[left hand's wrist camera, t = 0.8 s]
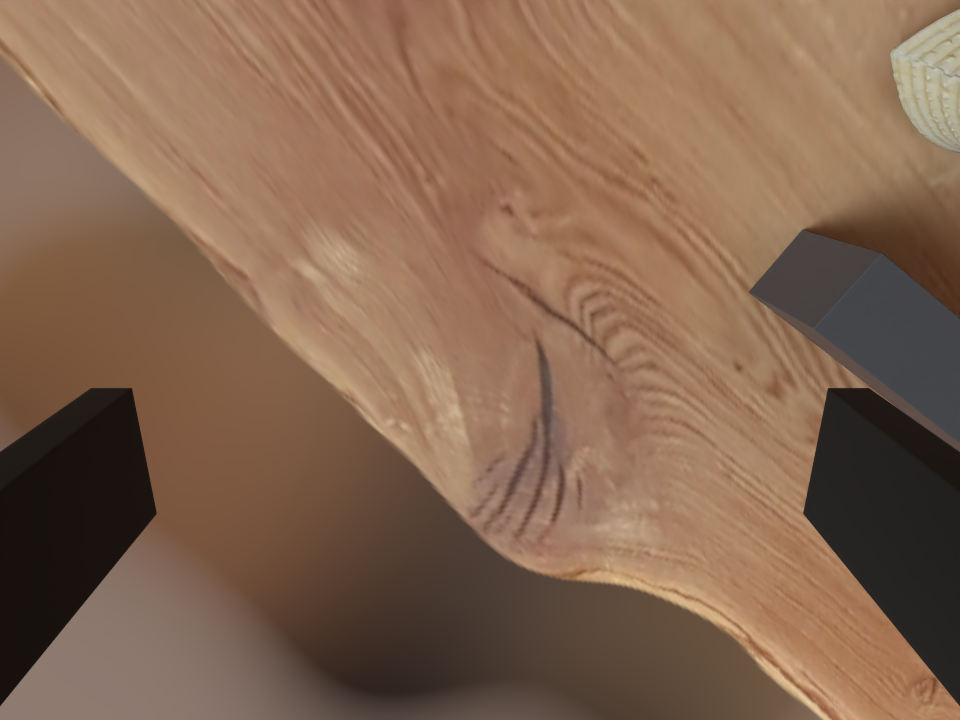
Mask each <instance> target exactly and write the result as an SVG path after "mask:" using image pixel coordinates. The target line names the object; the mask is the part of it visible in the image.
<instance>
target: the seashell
mask: <svg viewBox="0 0 960 720" xmlns="http://www.w3.org/2000/svg"><path fill="white" fill-rule="evenodd" d="M890 55H891V62H892V67H893V71H894V79H895V81H896V83H897V89H898V91H899V98H900V101H901V103H902V106H903V109H904V110H905V112H906V114H907V116H908V117H909V118H910V120H911V122H912V123H913V125H914V126H915V127H916V128H917V130H918V131H919V132H920V133H921V134H922V135H923V136H924V137H926V138H927V139H928V140H930V141H932V142H933V143H935V144H936V145H938V146H941V147H943V148H945V149H947V150H950V151H954V152H959V153H960V9H958V10H956V11H954V12H952V13H951V14H949V15H946V16H944V17H942V18H941V19H939V20H937V21H936V22H934V23H932V24H930V25H928V26H927V27H925V28H924V29H922V30H920V31H919V32H917V33H916V34H915V35H913V36H912V37H910V38H909V39H907V40H906V41H904V42H902V43H901V44H899V45H898V46H896V47H895V48H894V49H893V50H892V52H891V54H890Z"/></svg>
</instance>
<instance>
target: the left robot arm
mask: <svg viewBox="0 0 960 720" xmlns="http://www.w3.org/2000/svg"><path fill="white" fill-rule="evenodd" d="M803 514H804V515H805V516H806V518H807V519H808V520H809V521H810V522H811V524H812V525H813V526H814V527H815V529H816V530H817V531H818V532H819V534H820V535H821V536H822V537H823V538H824V540H825V541H826V542H827V543H828V545H829V546H830V547H831V548H832V549H833V551H834V552H835V553H836V554H837V556H838V557H839V558H840V559H841V561H842V562H843V563H844V564H845V565H846V567H847V568H848V569H849V570H850V572H851V573H852V574H853V575H854V577H855V578H856V579H857V580H858V581H859V583H860V584H861V585H862V586H863V588H864V589H865V590H866V591H867V593H868V594H869V595H870V596H871V597H872V599H873V600H874V601H875V602H876V604H877V605H878V606H879V607H880V609H881V610H882V611H883V612H884V613H885V615H886V616H887V617H888V618H889V620H890V621H891V622H892V623H893V624H894V626H895V627H896V628H897V629H898V631H899V632H900V633H901V634H902V636H903V637H904V638H905V639H906V640H907V642H908V643H909V644H910V645H911V647H912V648H913V649H914V650H915V652H916V653H917V654H918V655H919V656H920V658H921V659H922V660H923V661H924V663H925V664H926V665H927V666H928V668H929V669H930V670H931V671H932V672H933V674H934V675H935V676H936V677H937V679H938V680H939V681H940V682H941V683H942V685H943V686H944V687H945V688H946V690H947V691H948V692H949V693H950V695H951V696H952V697H953V698H954V699H955V701H956V702H957V703H958V704H959V706H960V452H959V451H958V450H956V449H955V448H954V447H952V446H951V445H949V444H948V443H946V442H945V441H944V440H942V439H941V438H939V437H938V436H936V435H935V434H934V433H932V432H931V431H929V430H928V429H926V428H925V427H924V426H922V425H921V424H919V423H918V422H916V421H915V420H914V419H912V418H911V417H909V416H908V415H906V414H905V413H903V412H902V411H901V410H899V409H898V408H896V407H895V406H893V405H892V404H891V403H889V402H888V401H886V400H885V399H883V398H882V397H881V396H879V395H878V394H876V393H875V392H873V391H872V390H871V389H869V388H828V392H827V397H826V402H825V407H824V412H823V417H822V422H821V427H820V432H819V437H818V442H817V447H816V452H815V457H814V462H813V467H812V472H811V477H810V482H809V487H808V492H807V498H806V503H805V508H804V513H803ZM155 515H156V508H155V503H154V498H153V492H152V488H151V482H150V477H149V472H148V467H147V462H146V457H145V452H144V447H143V442H142V437H141V432H140V427H139V422H138V417H137V412H136V407H135V402H134V397H133V392H132V388H91V389H89V390H88V391H87V392H85V393H84V394H82V395H81V396H79V397H78V398H77V399H75V400H74V401H72V402H71V403H69V404H68V405H67V406H65V407H64V408H62V409H61V410H59V411H58V412H57V413H55V414H54V415H52V416H51V417H49V418H48V419H46V420H45V421H44V422H42V423H41V424H39V425H38V426H36V427H35V428H34V429H32V430H31V431H29V432H28V433H26V434H25V435H24V436H22V437H21V438H19V439H18V440H16V441H15V442H14V443H12V444H11V445H9V446H8V447H7V448H5V449H4V450H2V451H1V452H0V706H1V704H2V703H3V702H4V701H5V699H6V698H7V697H8V696H9V694H10V693H11V692H12V691H13V690H14V688H15V687H16V686H17V685H18V683H19V682H20V681H21V680H22V679H23V677H24V676H25V675H26V674H27V672H28V671H29V670H30V669H31V667H32V666H33V665H34V664H35V663H36V661H37V660H38V659H39V658H40V656H41V655H42V654H43V653H44V651H45V650H46V649H47V648H48V647H49V645H50V644H51V643H52V642H53V640H54V639H55V638H56V637H57V636H58V634H59V633H60V632H61V631H62V629H63V628H64V627H65V626H66V624H67V623H68V622H69V621H70V620H71V618H72V617H73V616H74V615H75V613H76V612H77V611H78V610H79V608H80V607H81V606H82V605H83V604H84V602H85V601H86V600H87V599H88V597H89V596H90V595H91V594H92V593H93V591H94V590H95V589H96V588H97V586H98V585H99V584H100V583H101V581H102V580H103V579H104V578H105V576H106V575H107V574H108V573H109V572H110V570H111V569H112V568H113V567H114V565H115V564H116V563H117V562H118V561H119V559H120V558H121V557H122V556H123V554H124V553H125V552H126V551H127V549H128V548H129V547H130V546H131V544H132V543H133V542H134V541H135V540H136V538H137V537H138V536H139V535H140V534H141V532H142V531H143V530H144V529H145V527H146V526H147V525H148V524H149V522H150V521H151V520H152V519H153V517H154V516H155Z"/></svg>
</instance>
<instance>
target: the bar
mask: <svg viewBox="0 0 960 720" xmlns="http://www.w3.org/2000/svg"><path fill="white" fill-rule="evenodd" d="M749 293H750V294H752V295H753V296H754V297H755V298H757V299H758V300H759V301H761V302H762V303H763V304H764V305H766V306H767V307H768V308H770V309H771V310H772V311H773V312H775V313H776V314H777V315H779V316H780V317H781V318H783V319H784V320H785V321H786V322H788V323H789V324H790V325H792V326H793V327H794V328H795V329H797V330H798V331H799V332H801V333H802V334H803V335H804V336H806V337H807V338H808V339H810V340H811V341H812V342H813V343H815V344H816V345H817V346H819V347H820V348H821V349H822V350H824V351H825V352H826V353H828V354H829V355H830V356H831V357H833V358H834V359H835V360H837V361H838V362H839V363H840V364H842V365H843V366H844V367H846V368H847V369H848V370H849V371H851V372H852V373H853V374H855V375H856V376H857V377H858V378H860V379H861V380H862V381H864V382H865V383H866V384H868V385H869V386H870V387H871V388H873V389H874V390H875V391H877V392H878V393H879V394H880V395H882V396H883V397H884V398H886V399H887V400H888V401H889V402H891V403H892V404H893V405H895V406H896V407H897V408H898V409H900V410H901V411H902V412H904V413H905V414H906V415H908V416H909V417H911V418H912V419H914V420H915V421H916V422H918V423H919V424H921V425H922V426H924V427H925V428H926V429H928V430H929V431H931V432H932V433H934V434H935V435H936V436H938V437H939V438H941V439H942V440H944V441H945V442H946V443H948V444H949V445H951V446H952V447H954V448H955V449H956V450H958V451H959V452H960V318H959V317H958V316H957V315H956V314H954V313H953V312H952V311H951V310H950V309H949V308H947V307H946V306H945V305H944V304H943V303H941V302H940V301H939V300H938V299H937V298H935V297H934V296H933V295H932V294H931V293H929V292H928V291H927V290H926V289H925V288H924V287H922V286H921V285H920V284H919V283H918V282H916V281H915V280H914V279H913V278H912V277H910V276H909V275H908V274H907V273H906V272H904V271H903V270H902V269H901V268H900V267H898V266H897V265H896V264H895V263H894V262H893V261H891V260H890V259H889V258H888V257H887V256H885V255H884V254H883V253H880V252H877V251H873V250H870V249H866V248H863V247H860V246H856V245H853V244H849V243H846V242H842V241H839V240H835V239H832V238H829V237H825V236H822V235H818V234H815V233H811V232H808V231H804V230H802V231H801V232H800V233H799V235H798V236H797V237H796V238H795V239H794V240H793V242H792V243H791V244H790V245H789V246H788V247H787V249H786V250H785V251H784V252H783V253H782V254H781V256H780V257H779V258H778V259H777V260H776V261H775V263H774V264H773V265H772V266H771V267H770V268H769V269H768V271H767V272H766V273H765V274H764V275H763V276H762V278H761V279H760V280H759V281H758V282H757V283H756V285H755V286H754V287H753V288H752V289H751V290H750V292H749Z"/></svg>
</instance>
